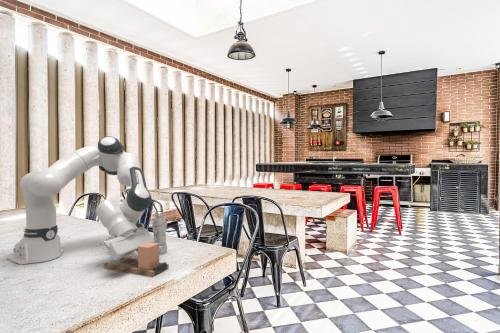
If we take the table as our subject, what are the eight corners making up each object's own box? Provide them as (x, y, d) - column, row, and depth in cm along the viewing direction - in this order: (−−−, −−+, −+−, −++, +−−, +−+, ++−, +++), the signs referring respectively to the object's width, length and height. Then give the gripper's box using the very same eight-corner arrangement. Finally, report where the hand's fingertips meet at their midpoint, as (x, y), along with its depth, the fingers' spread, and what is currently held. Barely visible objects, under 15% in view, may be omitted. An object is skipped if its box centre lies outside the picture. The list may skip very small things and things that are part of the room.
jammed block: (138, 272, 112) (137, 246, 112) (149, 267, 118) (149, 242, 117) (148, 274, 110) (148, 247, 110) (159, 268, 116) (159, 243, 115)
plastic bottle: (151, 253, 138) (151, 211, 138) (166, 251, 141) (165, 210, 141) (152, 257, 132) (152, 213, 132) (168, 255, 135) (167, 212, 135)
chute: (104, 271, 117) (104, 261, 117) (122, 263, 125) (122, 254, 125) (152, 280, 107) (152, 269, 107) (168, 271, 116) (168, 261, 116)
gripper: (106, 234, 108) (127, 263, 105) (145, 222, 127) (164, 247, 124) (97, 244, 110) (117, 274, 107) (137, 232, 129) (155, 256, 126)
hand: (143, 259), depth 115 cm, fingers closed, pressing on jammed block
